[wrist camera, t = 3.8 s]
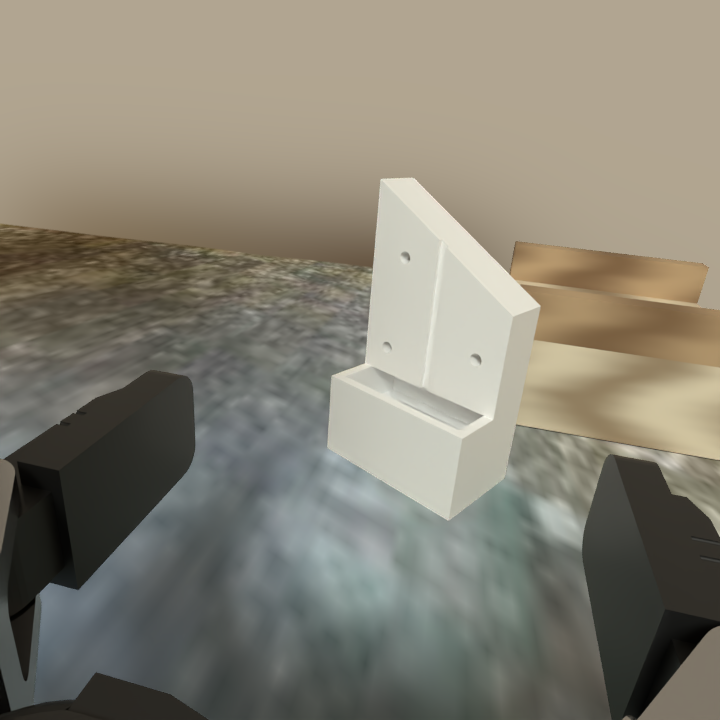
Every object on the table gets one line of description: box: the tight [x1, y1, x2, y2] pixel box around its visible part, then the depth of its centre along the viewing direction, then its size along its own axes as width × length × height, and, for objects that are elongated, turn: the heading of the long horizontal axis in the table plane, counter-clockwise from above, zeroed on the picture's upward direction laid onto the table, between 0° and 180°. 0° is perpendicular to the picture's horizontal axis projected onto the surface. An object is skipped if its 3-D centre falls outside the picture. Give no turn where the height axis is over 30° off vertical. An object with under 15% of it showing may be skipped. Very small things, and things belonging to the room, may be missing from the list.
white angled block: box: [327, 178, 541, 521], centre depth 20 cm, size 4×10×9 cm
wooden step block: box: [509, 241, 720, 460], centre depth 28 cm, size 10×11×6 cm
